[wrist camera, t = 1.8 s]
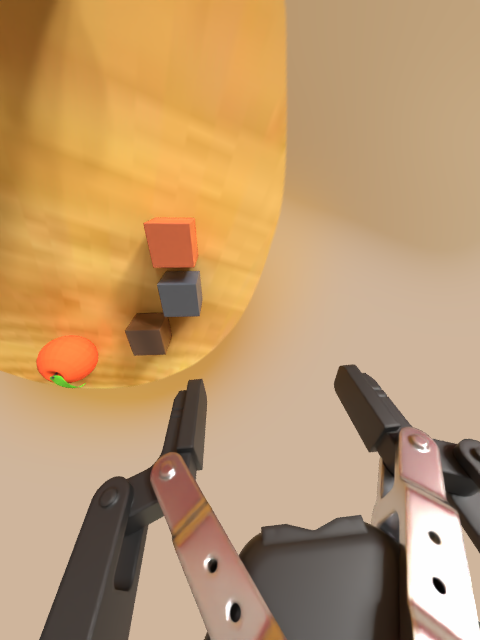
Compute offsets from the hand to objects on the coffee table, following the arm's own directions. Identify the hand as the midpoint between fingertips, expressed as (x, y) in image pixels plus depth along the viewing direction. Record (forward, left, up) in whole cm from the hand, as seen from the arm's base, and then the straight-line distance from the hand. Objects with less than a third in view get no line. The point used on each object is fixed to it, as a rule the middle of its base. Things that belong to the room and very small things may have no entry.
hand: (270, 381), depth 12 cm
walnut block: (-14, -9, -19) cm, 25 cm away
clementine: (-26, -13, -19) cm, 35 cm away
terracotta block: (-8, +4, -19) cm, 21 cm away
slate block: (-8, -2, -19) cm, 21 cm away
